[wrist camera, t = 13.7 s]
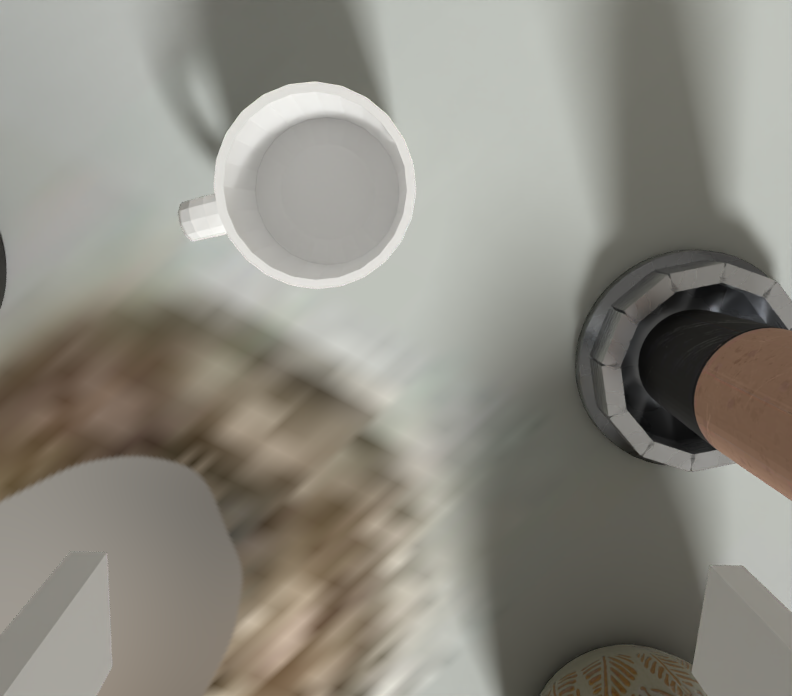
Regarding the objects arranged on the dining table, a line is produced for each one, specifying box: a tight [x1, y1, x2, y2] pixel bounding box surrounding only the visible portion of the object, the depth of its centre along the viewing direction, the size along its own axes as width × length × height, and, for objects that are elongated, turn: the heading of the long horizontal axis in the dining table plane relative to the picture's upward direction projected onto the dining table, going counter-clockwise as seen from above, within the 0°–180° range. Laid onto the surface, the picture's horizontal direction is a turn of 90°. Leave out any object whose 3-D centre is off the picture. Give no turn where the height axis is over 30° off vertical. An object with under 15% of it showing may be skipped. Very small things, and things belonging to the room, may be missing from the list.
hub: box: [575, 250, 792, 472], centre depth 44 cm, size 15×15×4 cm
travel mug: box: [638, 309, 792, 501], centre depth 35 cm, size 8×8×20 cm
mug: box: [178, 81, 416, 289], centre depth 38 cm, size 13×10×10 cm
